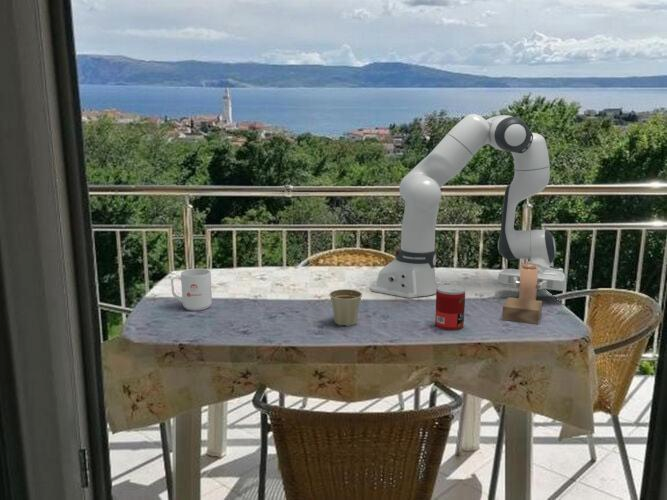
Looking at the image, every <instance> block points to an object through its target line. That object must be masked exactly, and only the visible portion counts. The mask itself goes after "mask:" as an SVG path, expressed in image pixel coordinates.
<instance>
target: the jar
mask: <svg viewBox="0 0 667 500" xmlns="http://www.w3.org/2000/svg"><path fill="white" fill-rule="evenodd" d="M519 270H520V284H519V287H518V298H520V299H529V300H537V290H538V289H536V287H537V286H536V285H537V279H538V268H537V267H536V264H533V263H527V262H526V263H525V262H524V263H522V265H521V266H520V269H519Z"/></svg>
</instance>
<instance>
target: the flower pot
mask: <svg viewBox="0 0 667 500" xmlns="http://www.w3.org/2000/svg"><path fill="white" fill-rule="evenodd" d="M328 296H329V298H330V300H331V303H332V311H333V318H334V323H335V324H336V325H338V326H345V327H349V326H350V327H351V326H354V325H356V324H357V321H358V316H359V315H358V313H359V306H360V302H361V299H362V297H363V293H362V292H361V291H359V290H355V289H349V288H343V289H336V290H333V291H330V292H329V293H328Z"/></svg>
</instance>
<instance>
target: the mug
mask: <svg viewBox="0 0 667 500" xmlns="http://www.w3.org/2000/svg"><path fill="white" fill-rule="evenodd" d="M211 275H212V273H211V270H209V269H207V268H190V269H185V270H183V271H181V272H180V276H174V277H170V286H171V294H172V296H173V297H174V298H175V299H177V300H178V301H180V302H181V303H182V306H183V308H185V309H186V310H188V311H191V312H192V311H203V310H207V309H209V308H210V306H211V305H212V304H213V303H212V302H213V299H212V294H213V293H212V276H211ZM175 279H177V280H180V283H181V284H180V285H181V297H180V296H179V295H177V294H176V293H175V288H174V280H175Z"/></svg>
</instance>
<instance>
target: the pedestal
mask: <svg viewBox="0 0 667 500" xmlns="http://www.w3.org/2000/svg"><path fill="white" fill-rule="evenodd" d="M542 308H543V300H537V299H536V300H529V299H520V298H519V297H509V296H508V297H507V298H506V300H505V301H504V303H503V305H502V313H501V314H502V315H501V316H502V318H501V320H502V321H510V322H519V323H525V324H535V325H539V321H540V319H541V316H542V311H543V309H542Z"/></svg>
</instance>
